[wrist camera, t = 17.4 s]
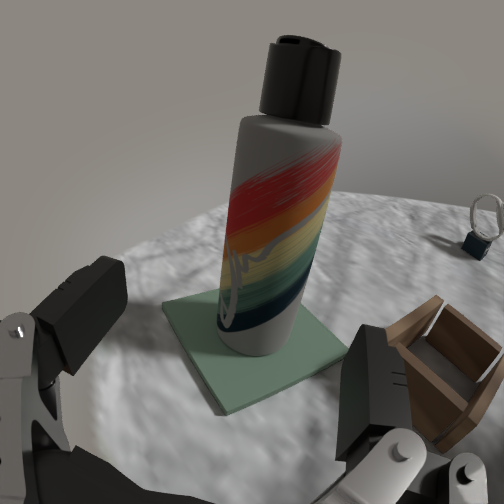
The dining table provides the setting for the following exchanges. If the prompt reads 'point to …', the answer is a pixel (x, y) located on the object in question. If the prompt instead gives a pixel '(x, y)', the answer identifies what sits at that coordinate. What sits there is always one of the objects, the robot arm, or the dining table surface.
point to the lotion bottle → (278, 196)
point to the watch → (476, 240)
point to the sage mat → (245, 366)
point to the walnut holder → (432, 386)
